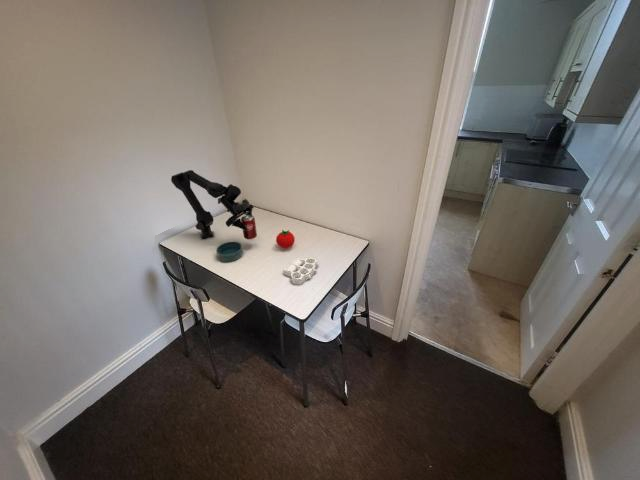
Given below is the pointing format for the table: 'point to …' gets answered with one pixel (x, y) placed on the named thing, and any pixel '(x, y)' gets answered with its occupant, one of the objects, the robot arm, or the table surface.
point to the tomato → (285, 239)
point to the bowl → (229, 251)
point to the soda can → (249, 227)
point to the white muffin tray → (301, 269)
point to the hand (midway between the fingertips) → (251, 226)
